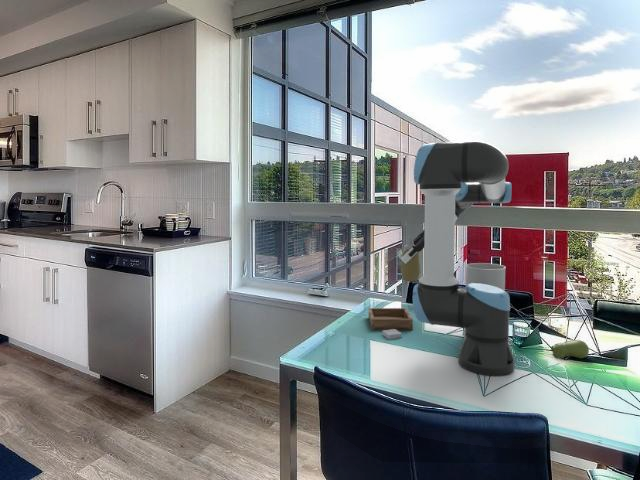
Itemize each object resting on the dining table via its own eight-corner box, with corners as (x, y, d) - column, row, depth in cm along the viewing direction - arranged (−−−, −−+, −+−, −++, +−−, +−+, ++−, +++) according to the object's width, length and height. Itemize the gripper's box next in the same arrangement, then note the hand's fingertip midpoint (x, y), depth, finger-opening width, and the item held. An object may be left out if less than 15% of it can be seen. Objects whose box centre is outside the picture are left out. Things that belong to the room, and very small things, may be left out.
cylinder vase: (462, 339, 139) (463, 267, 136) (467, 328, 150) (469, 262, 147) (501, 345, 133) (504, 270, 130) (504, 333, 144) (506, 264, 141)
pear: (590, 343, 119) (553, 346, 121) (593, 360, 119) (555, 363, 122) (583, 336, 124) (547, 339, 127) (585, 353, 125) (549, 355, 127)
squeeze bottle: (399, 281, 162) (399, 237, 160) (401, 278, 170) (401, 235, 168) (419, 282, 160) (420, 237, 158) (421, 279, 167) (421, 235, 165)
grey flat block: (401, 338, 141) (401, 333, 141) (388, 340, 140) (388, 334, 139) (395, 334, 146) (395, 328, 146) (382, 335, 144) (382, 330, 144)
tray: (412, 330, 149) (412, 319, 148) (371, 330, 149) (371, 319, 149) (405, 317, 164) (405, 308, 163) (368, 317, 164) (368, 308, 164)
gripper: (456, 227, 152) (412, 270, 154) (443, 224, 171) (404, 262, 174) (442, 214, 152) (398, 257, 154) (430, 212, 171) (392, 250, 173)
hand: (401, 260), depth 164 cm, fingers closed on squeeze bottle, 6 cm apart
